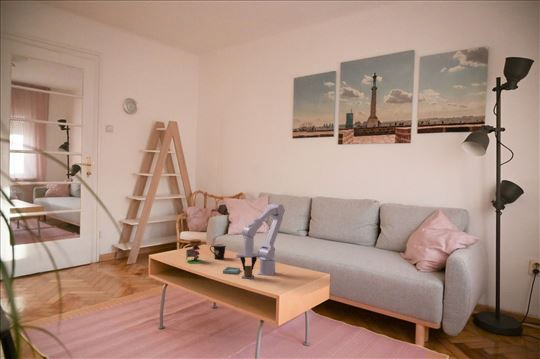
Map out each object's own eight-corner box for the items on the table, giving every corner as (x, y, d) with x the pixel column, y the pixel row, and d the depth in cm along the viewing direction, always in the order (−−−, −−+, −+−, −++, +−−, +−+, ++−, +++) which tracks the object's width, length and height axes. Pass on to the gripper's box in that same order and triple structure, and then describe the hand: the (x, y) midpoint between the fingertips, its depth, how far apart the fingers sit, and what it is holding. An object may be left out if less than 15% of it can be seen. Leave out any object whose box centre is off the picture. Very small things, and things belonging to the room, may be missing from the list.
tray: (240, 270, 228) (240, 267, 228) (236, 274, 220) (236, 271, 220) (227, 269, 230) (227, 266, 230) (222, 273, 221) (222, 270, 221)
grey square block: (253, 276, 216) (254, 269, 216) (251, 279, 211) (251, 272, 210) (244, 275, 217) (244, 268, 217) (241, 278, 212) (241, 271, 212)
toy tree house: (205, 260, 253) (206, 238, 253) (200, 264, 240) (201, 242, 240) (189, 259, 254) (190, 238, 254) (183, 263, 242) (184, 241, 241)
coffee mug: (227, 259, 257) (228, 245, 257) (217, 261, 251) (217, 246, 251) (218, 256, 266) (219, 242, 265) (208, 257, 260) (209, 244, 260)
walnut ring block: (250, 273, 216) (251, 265, 216) (252, 275, 212) (252, 267, 212) (244, 274, 215) (244, 265, 215) (245, 276, 211) (245, 267, 211)
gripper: (259, 245, 219) (258, 267, 220) (235, 245, 216) (235, 268, 216) (261, 247, 212) (261, 270, 213) (237, 248, 209) (236, 271, 209)
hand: (248, 269), depth 214 cm, fingers closed on walnut ring block, 4 cm apart
